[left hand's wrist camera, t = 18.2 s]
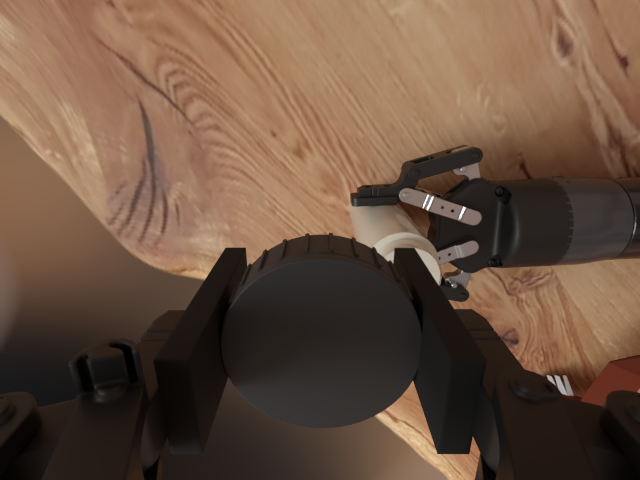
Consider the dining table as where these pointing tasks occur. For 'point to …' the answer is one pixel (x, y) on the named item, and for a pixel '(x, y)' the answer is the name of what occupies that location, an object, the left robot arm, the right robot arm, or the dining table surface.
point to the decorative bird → (605, 381)
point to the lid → (321, 332)
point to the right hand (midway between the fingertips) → (352, 231)
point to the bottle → (392, 233)
